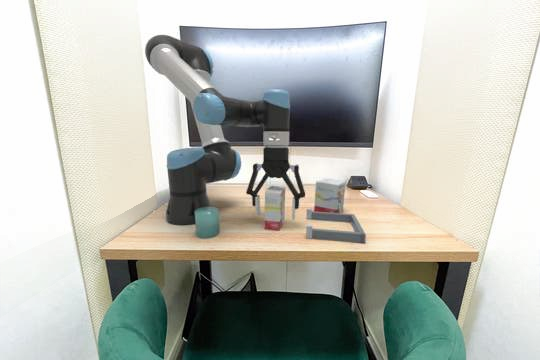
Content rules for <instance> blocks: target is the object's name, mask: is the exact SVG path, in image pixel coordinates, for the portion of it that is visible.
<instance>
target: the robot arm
mask: <svg viewBox="0 0 540 360" xmlns="http://www.w3.org/2000/svg"><path fill="white" fill-rule="evenodd" d="M144 54H145V58H146V61H147V62H148V64H149V65H150V67H151V68H152V69H153V70H154V71H155V72H156V73H158V74H159V75H161V76H164V77H165V78H167V80H168V81H169V82H170V83H171V84H173V85H174V87H175V88H176V89H177V90H179V92H180V93H181V94H182V95H183V96H184V97H185V98H186V99H187V100H188V101H189V102H190V105H191V109H192V113H193V116H194V120H195V123H196V124H195V125H196V126H197V129H198V134H199V137H200V140H201V144H202V145H200V146H201V147H200V146H197V147H195V146H194V147H184V148H179V149H174V150H171V151H170V152H168V154H167V155H166V168H167V179H168V186H169V187H168V188H169V200H168V204H167V207H166V211H165V217H166V218H165V219H166V220H165V221H166V222H168V223H169V224H173V225H176V226H177V225H183V226H186V225H194V224H196V223H195V210H197V209H199V208H202V207H213V206H212V203H211V201H210V199H209V196H208V193H207V184H211V183H215V182H217V183H218V182H221V181H224V182H225V181H228V180H231V179H234V178H236V177H237V176H238V174H239V173H240V170H241V168H242V157H241V155H240V153H239V152H238V151H237V150H236V149H233V148H232V147H231V143H230V142H229V140H227V139H226V138H225V137H224V136H225V135H224V133H223V128H222V126H231V127H232V126H233V127H241V128H250V127H251V128H253V127H263V129H262V130H263V131H262V132H263V141H262V142H263V146H265V147H264V148H263V154H262V155H263V157H262V158H263V160H262V163H257V162H256V163H254V164H253V165H252V172H251V173H252V174H251V177H250V180H249V182H248V186H247V189H246V192H245V194H247V195H250V196H251V202H252V203H251V205H252V207H255V211H254V212H255V218H259V216H260V215H261V214H260V213H261V210H260V209H261V208H260V207H261V205H260V204H261V199H260V198H261V197H260V196H261V195H260V194H258V193H259V192H260V191H261V189H262V187H263V186H264V184H265V183H266V182H267V180H268V178H270V179H275V178H276V179H281V178H282V180H283V181H284V183H285V184H286V185H287V187H288V189H289V191H290V192H291V194H292V196H293V197H292V199H291V200H292V203H291V206H292V207H291V209H292V210H291V220H292V221H295V219H296V210H299V207H300V199H301V198H305V197H306V192H305V188H304V185H303V181H302V179H301V175H300V171H299V170H300V165H299V164H290V162H289V154H290V153H289V151H290V150H289V147H288V146H289V145H290V114H291V101H290V93H289V92H288V91H287V90H285V89H275V88H274V89H268V90H265V91H264V92H263V97H262V99H261V100H254V101H252V100H251V101H249V100H246V99H245V100H243V99H239V98H234V97H229V96H225V95H223V94H222V93H220V92H219V90H217V89H216V88H215V87H214V86H213V85H212V84H210V81H211V78H212V77H213V74H214V70H213V68H214V63H213V62H214V61H213V58H212V56H211V55H210V52H208V51H207V50H206V49H204V48H203V47H202V48H201V47H200V46H199V45H196V44H191V43H189V42H186V41H184V40H181V39H178V38H176V37H173V36H171V35H168V34H157V35H154V36H152V37H151V38H150V39H148V41H147V42H146V43H145V48H144ZM261 169H263V171H264V175H263V176H262V178H261V180H260V181H259V182H258V184H257V186H256V187H255V183H256V181H257V177H258V174H259V171H261ZM289 170H291V172H292V173H293V174H294V178H295V181H296V184H297V188H298V190H299V191H298V190H297V188H296V186H295V185H294V183H293V182H292V180H291V178H290V177H289V175H288V173H287V172H288V171H289ZM254 187H255V189H254Z"/></svg>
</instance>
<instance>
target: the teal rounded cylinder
mask: <svg viewBox="0 0 540 360" xmlns="http://www.w3.org/2000/svg"><path fill="white" fill-rule="evenodd" d="M219 214H220V213H219V208H217V207H216V206H212V207H202V208H199V209H197V210H195V223H194V224H195V236H196V237H197V238H198V239H201V240H202V239H203V240H206V239H213V238H215V237H217V236H219V234H220V218H219V217H220V216H219Z"/></svg>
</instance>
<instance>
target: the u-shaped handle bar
mask: <svg viewBox="0 0 540 360" xmlns="http://www.w3.org/2000/svg"><path fill="white" fill-rule="evenodd" d="M312 208H313V207H306V220H308V221H309V220H311V221H313V220H314V221H324V222H325V221H327V222H338V223H350V225H351V227H352V229H353V231H350V230H349V231H348V230H335V229H327V228H326V229H324V228H313V224H311V223H306V228H305V239H308V240H313V239H314V240H321V241H322V240H324V241H333V242H334V241H335V242H346V243H356V244H366V240H367V239H366V237H367V234H366V232H365V231H364V229H363V227H362V226H361V223H360V221H358V219H357V216H356V215H355V214H354V213H342V212H341V213H328V212H314V210H313V209H312Z"/></svg>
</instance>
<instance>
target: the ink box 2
mask: <svg viewBox="0 0 540 360" xmlns="http://www.w3.org/2000/svg"><path fill="white" fill-rule="evenodd" d="M314 191H315V194H314V208H313V211H314V212H328V213H342V212H343V211H344V204H345V194H346V181H345V180H339V179H332V178H327V177H326V178H322V179H319V180H316V181H315V190H314Z"/></svg>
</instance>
